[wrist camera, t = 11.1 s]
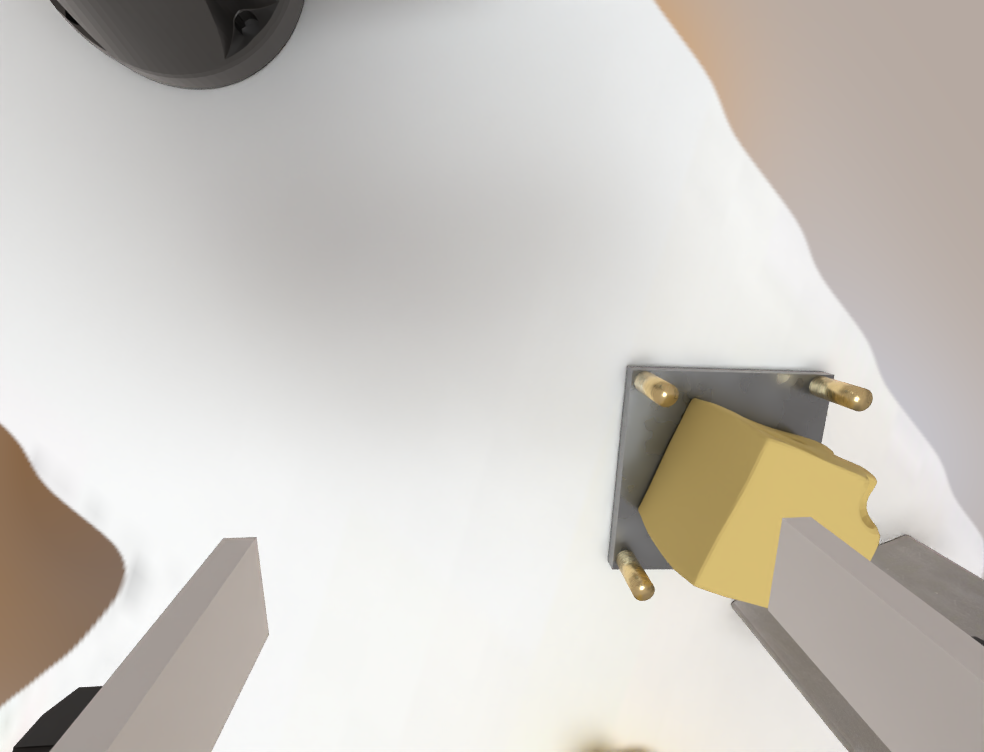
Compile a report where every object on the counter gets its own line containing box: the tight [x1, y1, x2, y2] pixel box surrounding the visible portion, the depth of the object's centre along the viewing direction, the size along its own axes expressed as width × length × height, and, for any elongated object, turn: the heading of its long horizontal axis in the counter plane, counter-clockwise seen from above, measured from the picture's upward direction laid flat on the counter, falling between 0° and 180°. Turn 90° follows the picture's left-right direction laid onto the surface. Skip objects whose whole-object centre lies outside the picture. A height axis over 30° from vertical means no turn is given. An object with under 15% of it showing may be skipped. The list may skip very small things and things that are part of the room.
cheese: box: [638, 398, 880, 608], centre depth 34 cm, size 10×11×10 cm
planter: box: [732, 535, 984, 752], centre depth 34 cm, size 16×8×19 cm, turn 111°
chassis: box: [608, 366, 873, 601], centre depth 37 cm, size 16×16×5 cm
